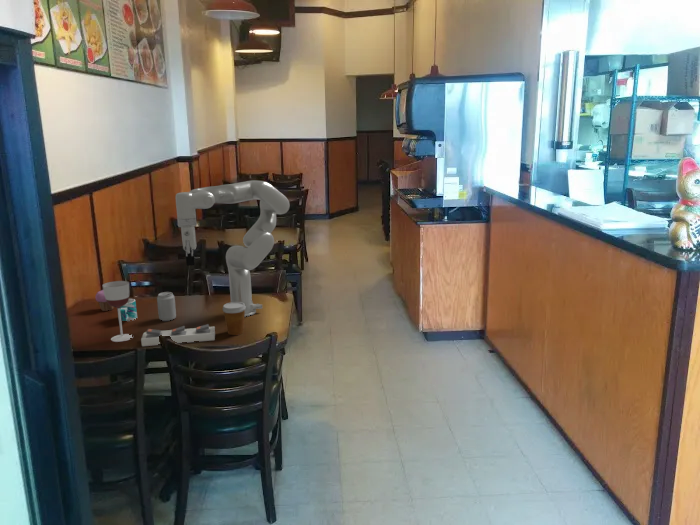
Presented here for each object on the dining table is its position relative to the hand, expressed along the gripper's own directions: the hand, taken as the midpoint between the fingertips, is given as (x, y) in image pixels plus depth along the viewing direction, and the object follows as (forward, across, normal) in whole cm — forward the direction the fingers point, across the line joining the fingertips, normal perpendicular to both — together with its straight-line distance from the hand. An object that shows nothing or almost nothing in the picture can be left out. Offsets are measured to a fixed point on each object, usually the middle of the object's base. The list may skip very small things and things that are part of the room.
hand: (190, 264), depth 242 cm
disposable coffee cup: (+27, -13, -17) cm, 35 cm away
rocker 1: (+23, -17, +15) cm, 32 cm away
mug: (+27, +15, +31) cm, 44 cm away
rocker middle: (+23, -17, +6) cm, 29 cm away
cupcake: (+27, +33, +43) cm, 61 cm away
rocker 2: (+23, -17, -4) cm, 29 cm away
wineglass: (+27, -8, +29) cm, 41 cm away
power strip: (+27, -16, +6) cm, 32 cm away
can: (+27, +12, +13) cm, 33 cm away
